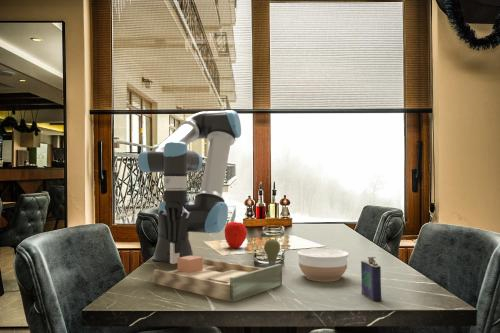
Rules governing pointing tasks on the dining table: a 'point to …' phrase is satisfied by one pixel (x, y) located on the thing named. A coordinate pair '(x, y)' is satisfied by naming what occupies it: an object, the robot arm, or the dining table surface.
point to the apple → (235, 234)
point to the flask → (371, 279)
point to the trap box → (223, 280)
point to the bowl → (323, 264)
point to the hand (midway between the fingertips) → (174, 262)
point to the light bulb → (272, 250)
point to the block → (190, 264)
